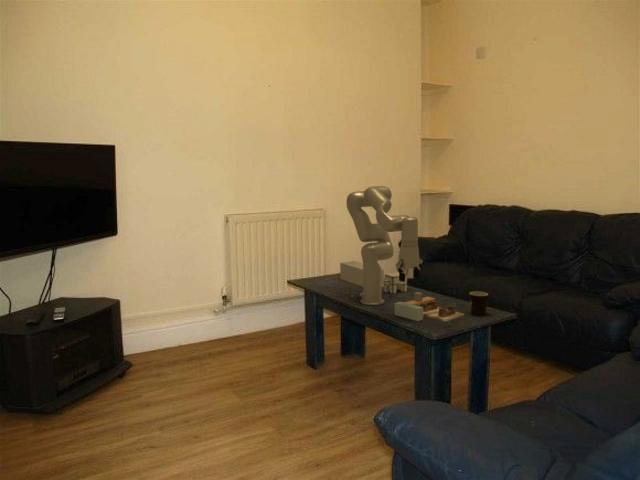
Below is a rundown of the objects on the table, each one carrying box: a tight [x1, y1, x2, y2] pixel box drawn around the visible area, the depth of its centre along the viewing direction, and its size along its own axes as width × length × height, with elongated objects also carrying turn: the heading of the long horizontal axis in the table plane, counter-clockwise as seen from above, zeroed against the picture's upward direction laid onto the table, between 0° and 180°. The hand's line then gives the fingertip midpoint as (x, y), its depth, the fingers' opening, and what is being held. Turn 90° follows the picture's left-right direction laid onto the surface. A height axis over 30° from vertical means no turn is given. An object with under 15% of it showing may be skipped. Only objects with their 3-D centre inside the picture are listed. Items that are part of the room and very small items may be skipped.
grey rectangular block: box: [339, 260, 385, 288], centre depth 314 cm, size 32×11×11 cm, turn 30°
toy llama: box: [384, 267, 415, 295], centre depth 290 cm, size 8×18×20 cm, turn 119°
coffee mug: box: [469, 290, 489, 317], centre depth 247 cm, size 12×9×10 cm
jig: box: [420, 300, 465, 323], centre depth 247 cm, size 20×14×4 cm
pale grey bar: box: [394, 301, 424, 322], centre depth 243 cm, size 14×4×6 cm, turn 41°
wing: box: [404, 291, 436, 306], centre depth 260 cm, size 5×20×7 cm, turn 128°
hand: (409, 279), depth 241 cm, fingers open, 9 cm apart
